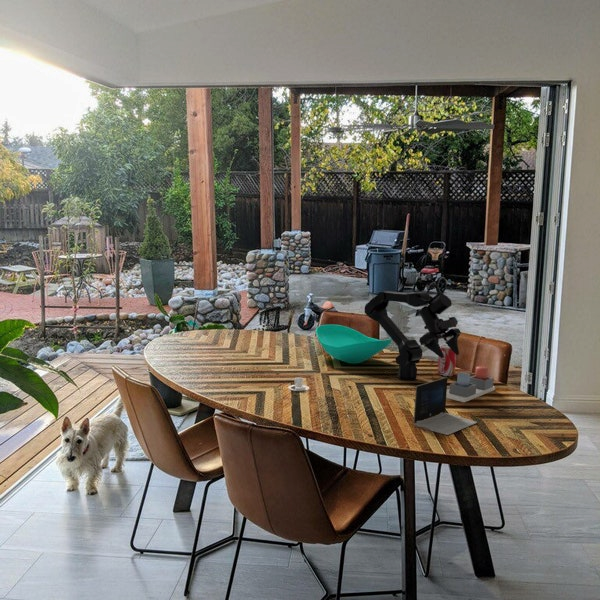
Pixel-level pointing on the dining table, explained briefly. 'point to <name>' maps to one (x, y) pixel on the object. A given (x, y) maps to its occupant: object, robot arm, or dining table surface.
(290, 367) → the dining table surface
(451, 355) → the soda can
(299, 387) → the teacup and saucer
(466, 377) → the slate button
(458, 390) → the button panel
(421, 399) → the laptop
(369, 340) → the table top decor
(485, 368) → the red button
